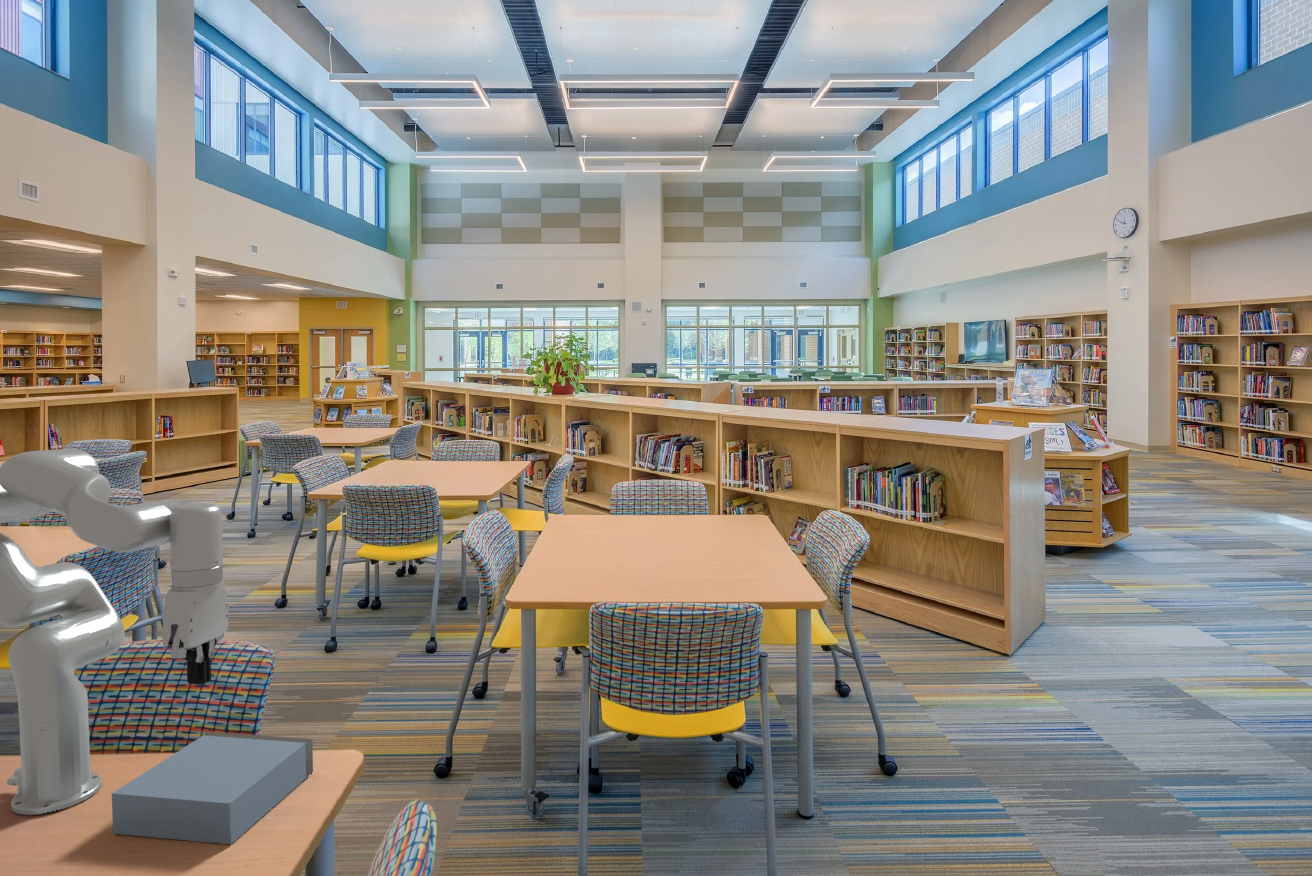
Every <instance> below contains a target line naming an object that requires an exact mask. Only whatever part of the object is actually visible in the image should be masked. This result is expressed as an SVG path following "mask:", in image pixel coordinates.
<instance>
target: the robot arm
mask: <svg viewBox="0 0 1312 876" xmlns="http://www.w3.org/2000/svg"><path fill="white" fill-rule="evenodd" d="M111 489H112V488H111V483H110V481H109V480H108V478H107V477H106V476H104V475H103V474H101V473H100V467H99V464H98V462H97V461H96V459H95V458H94V457H93V456H92V455H91V454H90V453H88V452H86V451H84V450H81V449H78V448H59V449H58V448H57V449H56V448H55V449H47V450H45V449H44V450H31V451H25V452H21V453H20V452H19V453H17V454H15V455H13V456H11V457H10V458H7V459H6V460H5V461H3V463H2V464H1V466H0V524H4V523H5V524H6V523H12V522H17V521H23V520H30V519H35V518H38V517H41V516H42V517H43V516H45V515H46V514H47V515H48V514H49V513H51V512H54V513H57V514H59V515H62V516H64V518H65V521H66V524H67V527H69V529H70V531H71V532H72V533H73V534H74V536H76V537H77V538H79V539H80V540H82V541H83V542H86V543H88V544H91V545H94V546H96V547H98V548H101V549H105V550H107V551H111V552H117V553H132V552H136V551H140V550H144V549H148V548H153V547H157V546H162V545H166V544H167V545H168V544H169V555H170V556H169V557H170V558H169V559H170V560H169V561H170V565H169V566H170V588H169V589H168V590H167V591H166V597H165V601H164V602H165V603H164V606H163V618H162V646H163V647H164V648H166V649H170V648H171V652H170V657H171V659H183V661H184V662H186V676H187V677H186V678H187V681H186V682H187V683H188V684H190V685H203V686H204V685H206V684H207V683H208V682H211V681H212V660H211V659H212V657H213V656H214V654H215V648H216V645H217V644H218V643H219V642H220V641H221V640H222V639H224V637H225V633H226V632H227V631H228V628H229V604H228V594H227V589H226V584H225V580H224V568H223V567H224V563H223V562H224V560H223V514H222V513H223V512H222V509H221V508H220V506H219V505H217V504H215V503H209V502H196V503H194V502H193V503H192V502H189V501H188V502H187V501H186V500H185V501H184V500H181V499H173V498H171V499H169V498H168V499H160V500H154V501H147V502H141V503H135V504H129V505H125V506H120V505H117V504H112V503H110V502H109V500H110V496H111ZM56 616H60V617H61V618H58V619H55V620H51V621H49V622H45V623H43V624H40V625H36V626H33V627H31V628H30V629H28V630H26V631H23V632H22V633H20V634H19V636H17V637H16V638H15V639H14V640H13V641H12V643H11V645H10V647H9V650H8V654H7V655H8V657H7V659H8V664H9V668H10V671H11V674H12V676H13V680H14V684H15V689H16V697H17V704H18V705H17V706H18V721H19V722H18V723H19V724H18V725H19V744H20V766H21V767H18V768H16V769H15V770H14V771H13V776H10V777H9V778H8V779H7V780H6V785H8V786H17V793H16V794H15V795H14V796H13V797H12V799H11V802H10V806H11V808H10V809H11V810H12V812H14V813H16V814H19V815H23V816H24V815H25V816H36V815H43V813H45V814H48V813H47V812H50V813H52V812H51V811H54V812H57V811H56V810H58V811H61V809H62V810H64V809H68V808H70V807H72V806H75V805H77V804H80V803H82V802H84V801H86V800H87V799H89V798H91V797H92V796H93V795H95V794H96V793H97V792H98V791H100V789H101V787H102V783H103V782H102V777H101V775H99V774H98V773H95V772H92V771H91V753H90V752H91V751H90V750H91V749H90V748H91V747H90V726H89V723H90V722H89V701H88V700H89V699H88V693H87V689H86V687H85V686H84V684H83V683H82V682H81V681H80V680H79V679H78V677H76V675H75V671H76V670H78V669H80V668H83V667H84V666H86V665H90V664H92V663H95V662H97V661H99V660H100V661H101V660H102V659H105V658H107V657H108V656H111V655H113V654H114V653H116V652H117V651H118V650H119V649H120V648H121V647H122V646H123V644H124V641H125V636H126V633H125V626H124V623H123V622H122V619H121V617H120V615H119V614H118V612H117V610H116V609H115V607H114V606H113V604H112V603H111V601H110V600H109V598H108V597H107V595H106V594H105V592H104V591H103V589H102V588H101V586H100V585H99V583H98V582H97V580H96V579H95V578H94V575H92V573H90V571H89V570H87V568H85V567H84V566H82V565H80V564H77V563H74V562H67V561H66V562H64V561H63V562H57V563H52V564H47V565H43V566H37V565H35V564H34V563H33V562H32V561H31V560H30V558H29V557H28V556H27V554H26V552H25V551H24V549H23V548H22V547H21V545H19V543H17V542H16V541H15V540H13V539H11V538H10V537H9V536H7V535H5V534H3V533H2V532H0V625H1V626H3V627H7V628H16V627H22V626H25V625H29V624H33V623H36V622H39V621H43V620H46V619H50V618H52V617H56Z"/></svg>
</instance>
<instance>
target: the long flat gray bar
mask: <svg viewBox="0 0 1312 876" xmlns="http://www.w3.org/2000/svg"><path fill="white" fill-rule="evenodd" d="M205 736H218V737H232V738H246V739H260V740H273V741H287V742H301V743H306V776H307V777H308V776H309V775H310V774H312V772H313V773H314V757H313V756H314V755H313V751H314V750H313V739H312V738H301V737H288V736H287V737H285V736H273V735H272V736H271V735H258V734H244V733H231V732H215V731H210V732H209V733H207V734H206V735H205ZM312 775H313V774H312Z"/></svg>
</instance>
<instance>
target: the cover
mask: <svg viewBox="0 0 1312 876" xmlns="http://www.w3.org/2000/svg"><path fill="white" fill-rule="evenodd" d="M306 778H307V776H306V743H301V742H287V741H273V740H260V739H246V738H232V737H218V736H206V735H204V734H203V735H202V736H200V737H199V738H197V739H196V740H194V741H192V742H190V743H189V744H188V745H186V746H184V747H182V748H181V749H180V750H178V751H177V752H175V753H173V754H171V755H170V756H169V757H167V758H165V759H163V760H162V761H160V762H159V763H158V764H156V765H154V766H152V767H150V768H149V769H148V770H147V771H144V772H143V773H141V774H140V775H138V776H137V777H135V778H134V779H133V780H131V781H129V782H127V783H125V784H124V785H123V786H121V787H120V788H117V790H115V791H113V792H112V793H111V812H112V813H111V814H112V816H111V817H112V833H113V834H115V835H125V836H137V837H138V836H139V837H148V838H159V839H170V840H181V841H190V842H191V841H192V842H203V843H211V844H213V843H214V844H222V845H223V844H224V845H226V844H227V845H232V844H233V843H235V841H237V840H238V838H240V837H241V836H242V835H243V834H244V833H246V832H247V831H248V830H249V829H250V828H251V827H252V826H254V825H255V824H256V823H257V822H258V821H259V820H261V819H262V817H264V816H265V815H266V814H268V813H269V812H270V811H271V810H272V809H273V808H275V806H277V805H278V804H279V802H281V801H282V800H283V799H284V798H285V797H286V796H288V795H289V794H290V793H291V792H292V791H294V789H296V788H297V787H298V786H299V785H300V784H301V783H303V781H305V780H307V779H306Z"/></svg>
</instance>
